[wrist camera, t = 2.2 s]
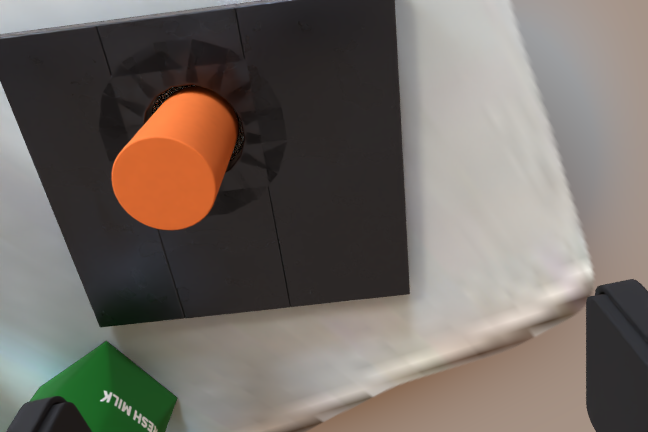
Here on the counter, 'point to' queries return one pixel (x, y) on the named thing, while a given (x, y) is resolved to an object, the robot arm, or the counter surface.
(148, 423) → the milk carton
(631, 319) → the robot arm
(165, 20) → the sink plate
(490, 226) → the counter surface
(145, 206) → the plug
